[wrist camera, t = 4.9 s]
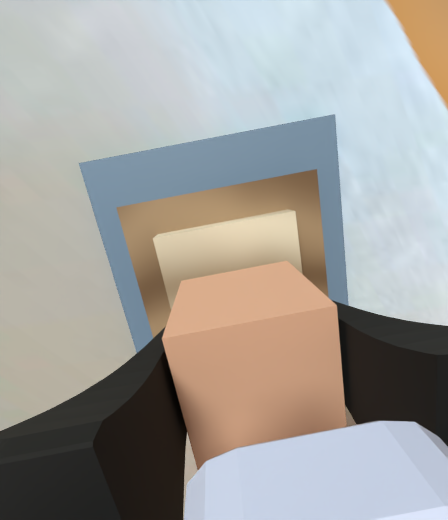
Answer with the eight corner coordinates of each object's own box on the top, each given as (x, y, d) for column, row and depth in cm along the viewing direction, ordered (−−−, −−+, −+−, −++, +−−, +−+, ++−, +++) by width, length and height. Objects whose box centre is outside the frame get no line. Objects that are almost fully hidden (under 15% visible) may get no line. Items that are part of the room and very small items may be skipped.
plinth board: (346, 356, 22) (375, 392, 18) (154, 393, 22) (142, 436, 18) (327, 118, 17) (361, 97, 13) (86, 164, 17) (49, 156, 13)
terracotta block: (299, 353, 14) (347, 443, 9) (202, 371, 14) (198, 471, 9) (287, 260, 12) (337, 305, 7) (181, 280, 12) (161, 338, 7)
